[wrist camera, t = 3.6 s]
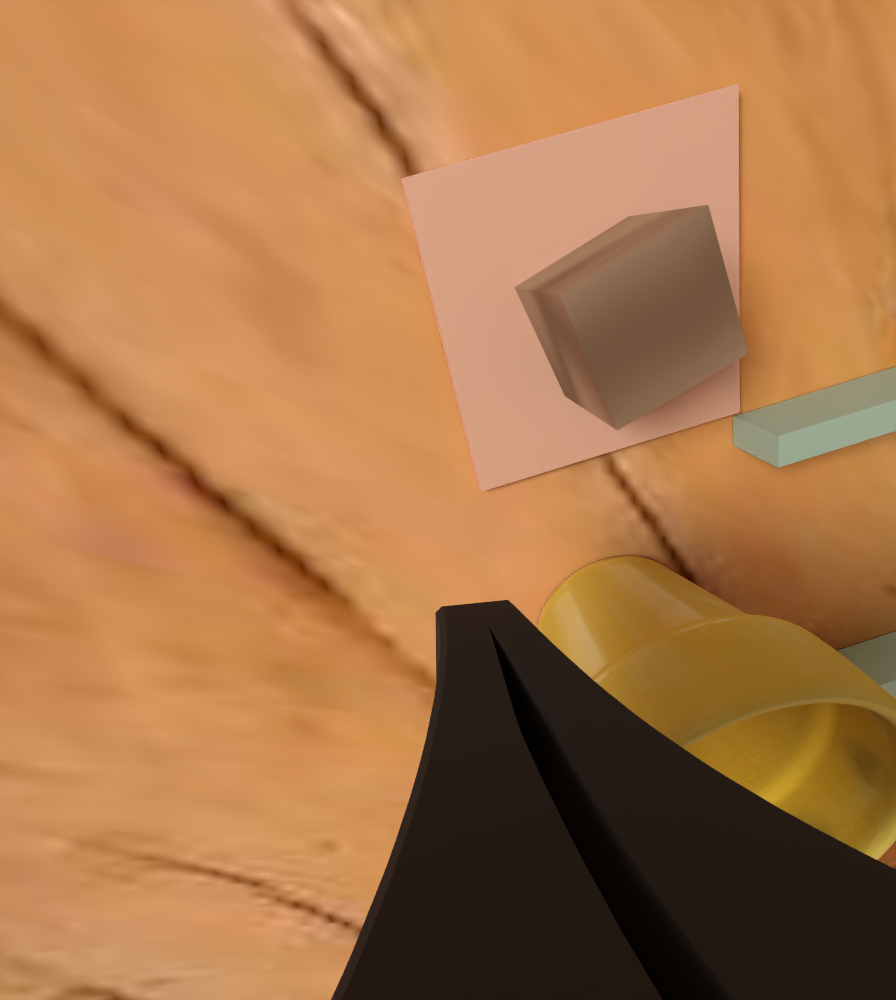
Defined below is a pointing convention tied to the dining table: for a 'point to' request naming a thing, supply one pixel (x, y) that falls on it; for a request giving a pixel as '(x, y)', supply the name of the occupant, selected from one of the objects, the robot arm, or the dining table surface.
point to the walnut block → (637, 314)
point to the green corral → (818, 430)
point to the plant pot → (737, 693)
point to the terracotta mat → (547, 238)
